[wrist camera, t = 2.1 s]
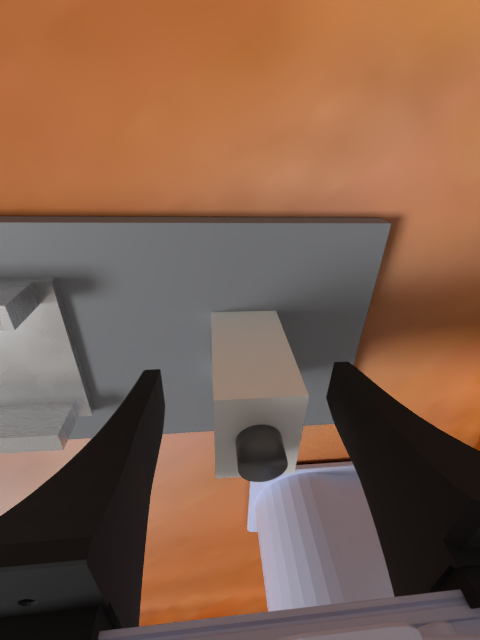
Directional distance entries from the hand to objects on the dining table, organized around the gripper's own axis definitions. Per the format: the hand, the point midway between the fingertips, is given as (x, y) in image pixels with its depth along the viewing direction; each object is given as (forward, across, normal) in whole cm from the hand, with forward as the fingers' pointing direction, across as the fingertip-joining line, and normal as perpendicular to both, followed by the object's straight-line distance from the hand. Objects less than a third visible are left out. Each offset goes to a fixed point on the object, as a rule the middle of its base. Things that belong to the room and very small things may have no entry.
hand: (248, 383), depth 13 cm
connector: (+3, 0, 0) cm, 3 cm away
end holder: (+4, +11, 0) cm, 12 cm away
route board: (+4, +5, 0) cm, 6 cm away
